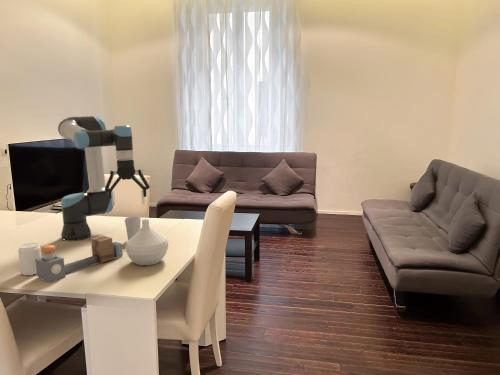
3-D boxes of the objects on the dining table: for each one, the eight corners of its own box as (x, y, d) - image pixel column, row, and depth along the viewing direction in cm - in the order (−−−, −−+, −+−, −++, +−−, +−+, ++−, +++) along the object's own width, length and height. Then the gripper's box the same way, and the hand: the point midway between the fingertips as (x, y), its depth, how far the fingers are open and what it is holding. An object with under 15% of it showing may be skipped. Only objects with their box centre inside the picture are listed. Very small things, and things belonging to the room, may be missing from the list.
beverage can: (26, 269, 177) (23, 243, 175) (46, 268, 178) (43, 242, 176) (17, 277, 169) (14, 249, 167) (38, 275, 170) (34, 248, 168)
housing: (37, 277, 168) (35, 259, 166) (54, 272, 173) (52, 254, 172) (49, 282, 162) (46, 263, 161) (66, 277, 168) (64, 258, 166)
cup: (137, 243, 211) (136, 220, 209) (123, 242, 213) (121, 220, 211) (144, 238, 219) (143, 216, 217) (130, 238, 220) (129, 216, 218)
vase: (147, 272, 171) (144, 227, 167) (117, 264, 180) (114, 222, 177) (177, 258, 186) (175, 217, 183) (148, 252, 196) (145, 213, 192)
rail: (56, 273, 172) (55, 259, 171) (116, 254, 195) (115, 241, 194) (63, 275, 169) (61, 261, 168) (122, 255, 192) (121, 243, 191)
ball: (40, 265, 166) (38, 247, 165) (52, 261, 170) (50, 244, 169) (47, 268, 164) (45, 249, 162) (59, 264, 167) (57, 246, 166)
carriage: (92, 259, 186) (90, 238, 185) (104, 256, 191) (102, 235, 189) (102, 262, 182) (100, 241, 180) (113, 258, 187) (112, 237, 185)
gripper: (95, 161, 184) (99, 207, 188) (151, 159, 187) (154, 204, 191) (99, 159, 192) (103, 204, 195) (153, 157, 194) (156, 201, 198)
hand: (128, 204), depth 193 cm, fingers open, 13 cm apart
